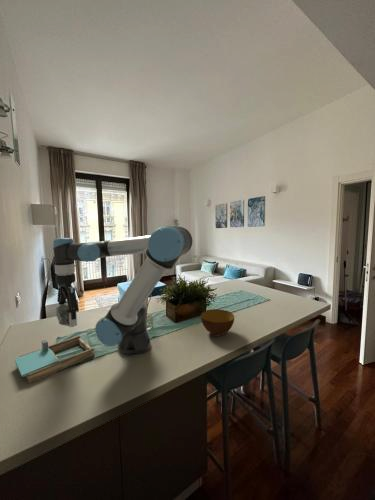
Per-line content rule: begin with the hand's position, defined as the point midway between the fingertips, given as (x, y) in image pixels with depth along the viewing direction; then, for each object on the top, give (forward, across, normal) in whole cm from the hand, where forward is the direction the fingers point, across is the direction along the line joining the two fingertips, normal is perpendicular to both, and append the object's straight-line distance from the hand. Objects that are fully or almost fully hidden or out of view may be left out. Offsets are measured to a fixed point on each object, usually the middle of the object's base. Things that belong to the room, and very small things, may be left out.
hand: (68, 322), depth 97 cm
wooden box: (+15, 0, +5) cm, 16 cm away
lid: (+13, 0, +13) cm, 18 cm away
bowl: (+15, -37, -61) cm, 73 cm away
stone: (+1, +1, 0) cm, 2 cm away
